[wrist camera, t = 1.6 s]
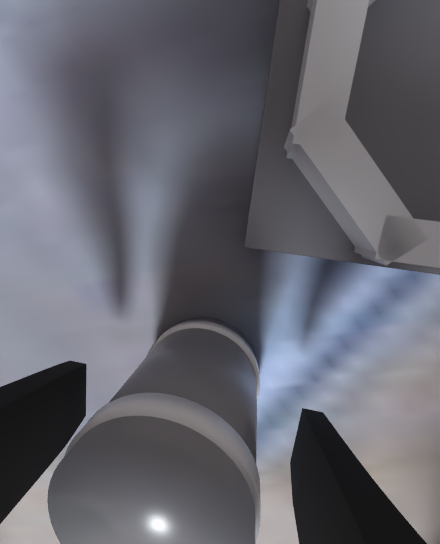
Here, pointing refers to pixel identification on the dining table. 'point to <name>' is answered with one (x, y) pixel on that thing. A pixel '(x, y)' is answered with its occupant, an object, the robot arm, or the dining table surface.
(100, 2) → the dining table surface
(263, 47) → the dining table surface
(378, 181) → the grey base plate
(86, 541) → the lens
